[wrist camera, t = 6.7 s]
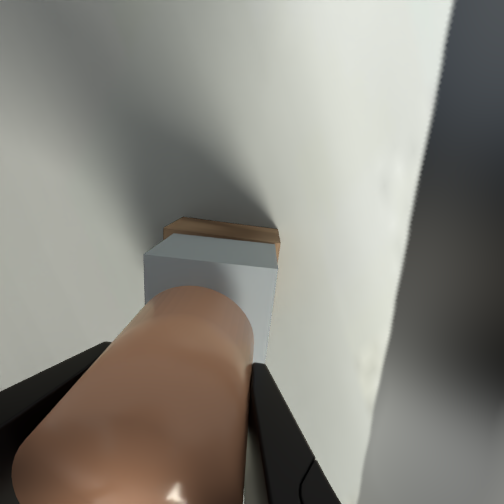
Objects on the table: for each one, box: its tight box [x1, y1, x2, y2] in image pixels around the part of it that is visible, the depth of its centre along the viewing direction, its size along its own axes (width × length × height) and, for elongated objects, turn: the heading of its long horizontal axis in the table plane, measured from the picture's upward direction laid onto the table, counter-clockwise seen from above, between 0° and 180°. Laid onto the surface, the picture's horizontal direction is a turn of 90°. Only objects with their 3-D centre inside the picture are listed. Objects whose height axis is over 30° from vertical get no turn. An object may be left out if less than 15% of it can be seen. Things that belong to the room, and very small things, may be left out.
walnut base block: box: [163, 217, 280, 262], centre depth 16 cm, size 6×6×4 cm
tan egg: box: [12, 286, 254, 504], centre depth 7 cm, size 4×4×5 cm
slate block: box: [144, 233, 278, 364], centre depth 13 cm, size 5×5×4 cm
